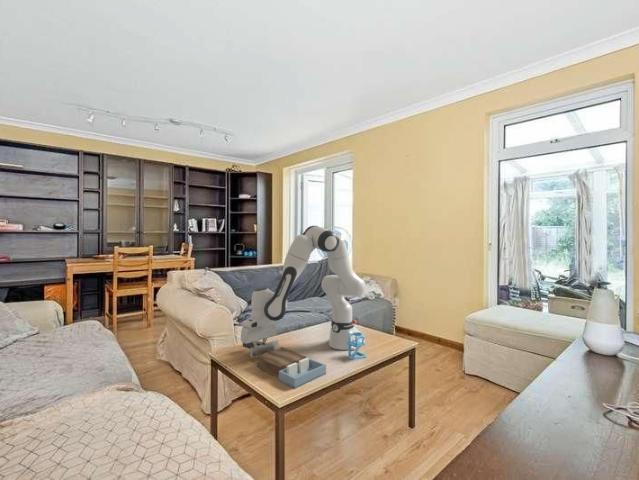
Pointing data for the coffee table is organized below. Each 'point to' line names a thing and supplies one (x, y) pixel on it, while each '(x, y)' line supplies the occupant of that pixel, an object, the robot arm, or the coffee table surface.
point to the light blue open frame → (356, 345)
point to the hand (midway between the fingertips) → (259, 347)
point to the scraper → (261, 347)
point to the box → (303, 374)
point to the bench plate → (278, 360)
